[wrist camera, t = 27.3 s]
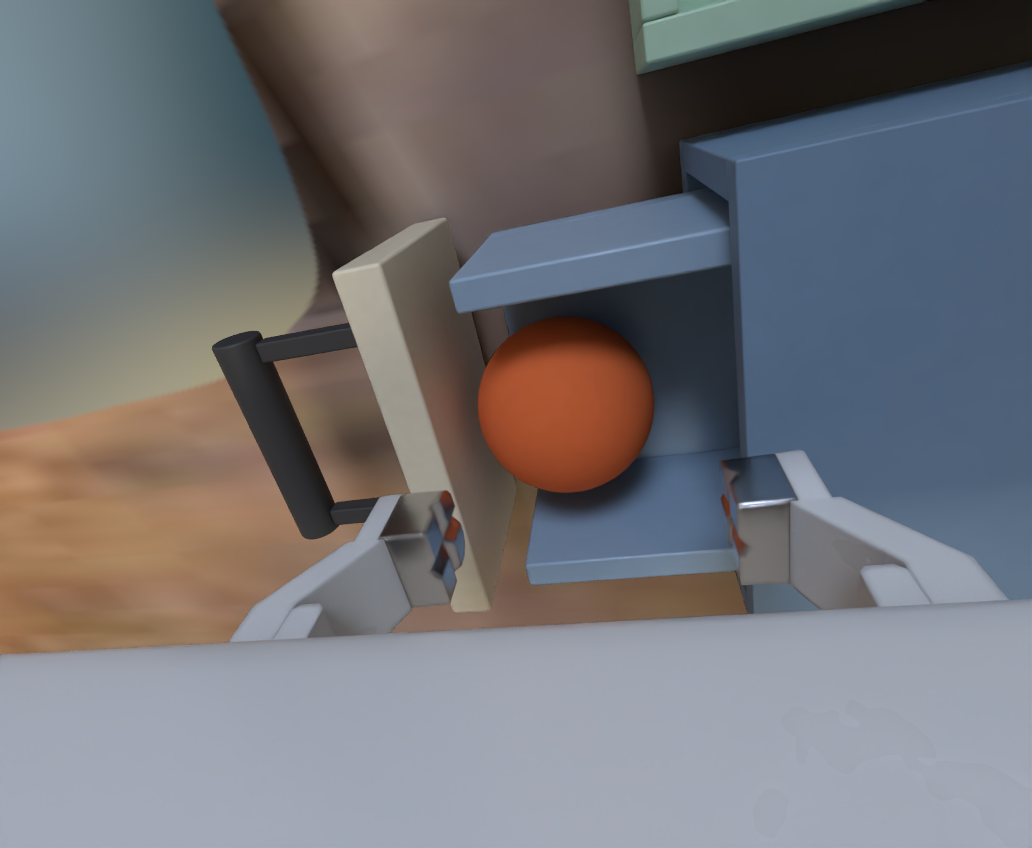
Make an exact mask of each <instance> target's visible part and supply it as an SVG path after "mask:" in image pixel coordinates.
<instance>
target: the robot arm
mask: <svg viewBox="0 0 1032 848" xmlns="http://www.w3.org/2000/svg"><path fill="white" fill-rule="evenodd" d="M719 479H720V482H721V485H722V489H723V492H724V494H723V495H722V497H721V506H722V515H723V523H724V528H725V533H726V537H727V540H728V544H729V545H730V546H732V547H733V561H734V564H735V567H736V570H737V574H738V577H739V580H740V583H741V585H759V584H784V583H790V585H791V586H792V587H793V588H794V589H795V590H797V591H798V592H799V593H800V594H802V595H803V596H804V597H805V598H806V599H808V600H809V601H810V602H811V603H812V604H814V605H815V606H816V607H817V608H819V609H820V610H812V611H793V612H775V613H757V614H739V615H720V616H702V617H684V618H666V619H647V620H629V621H611V622H592V623H574V624H556V625H537V626H519V627H500V628H482V629H464V630H445V631H427V632H408V633H390V632H391V631H392V630H393V629H394V628H395V627H396V626H397V625H398V624H399V623H400V622H401V621H402V620H403V619H404V617H405V616H406V615H407V614H408V613H409V612H410V611H411V610H412V608H413V607H424V606H434V605H445V604H450V603H451V599H452V596H453V593H454V590H455V587H456V583H457V578H456V575H455V571H456V570H457V569H459V568H460V567H461V566H462V564H463V560H464V556H465V538H464V532H463V529H462V526H461V523H460V522H459V521H458V520H457V519H455V518H454V517H453V516H452V514H453V511H454V508H455V504H454V501H453V498H452V496H451V493H449V492H448V491H447V490H440V491H429V492H418V493H406V494H395V495H387V496H383V497H380V498H379V499H378V501H377V503H376V504H375V506H374V508H373V510H372V511H371V513H370V515H369V516H368V518H367V520H366V522H365V523H364V525H363V527H362V528H361V530H360V532H359V534H358V535H357V537H356V539H355V541H354V542H347V543H346V544H344V545H343V546H341V547H340V548H338V549H337V550H335V551H334V552H332V553H331V554H330V555H328V556H327V557H325V558H324V559H322V560H321V561H319V562H318V563H316V564H315V565H313V566H312V567H310V568H309V569H307V570H306V571H304V572H303V573H301V574H300V575H299V576H297V577H296V578H294V579H293V580H291V581H290V582H288V583H287V584H285V585H284V586H282V587H281V588H279V589H278V590H276V591H275V592H273V593H272V594H271V595H269V596H268V597H266V598H265V599H263V600H262V601H260V602H259V603H257V604H256V605H254V606H253V607H252V609H251V610H250V612H249V613H248V614H247V616H246V617H245V619H244V620H243V622H242V623H241V624H240V626H239V627H238V629H237V630H236V631H235V633H234V634H233V636H232V637H231V639H230V640H229V641H228V642H225V643H206V644H188V645H170V646H151V647H133V648H115V649H97V650H78V651H60V652H42V653H17V654H0V848H1032V599H1016V600H1009V599H1008V598H1007V597H1006V596H1005V595H1004V593H1003V592H1002V591H1001V590H1000V589H999V587H998V586H997V585H996V584H995V583H994V581H993V580H992V579H991V578H990V577H989V575H988V574H987V573H986V572H985V571H984V569H983V568H982V567H981V566H980V565H979V563H978V562H977V561H976V560H975V559H974V557H972V556H970V555H968V554H965V553H963V552H961V551H959V550H957V549H955V548H952V547H950V546H948V545H946V544H944V543H941V542H939V541H937V540H935V539H933V538H930V537H928V536H926V535H924V534H922V533H920V532H917V531H915V530H913V529H911V528H909V527H906V526H904V525H902V524H900V523H898V522H895V521H893V520H891V519H889V518H887V517H885V516H882V515H880V514H878V513H876V512H874V511H871V510H869V509H867V508H865V507H863V506H860V505H858V504H856V503H854V502H852V501H849V500H847V499H845V498H843V497H832V496H831V494H830V492H829V491H828V489H827V487H826V486H825V484H824V483H823V481H822V479H821V478H820V476H819V474H818V473H817V471H816V470H815V468H814V466H813V465H812V463H811V461H810V460H809V458H808V456H807V455H806V453H805V452H804V451H803V450H793V451H786V452H779V453H773V454H766V455H759V456H751V457H744V458H736V459H729V460H721V461H719ZM389 633H390V634H389Z"/></svg>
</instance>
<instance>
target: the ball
mask: <svg viewBox="0 0 1032 848" xmlns="http://www.w3.org/2000/svg"><path fill="white" fill-rule="evenodd" d="M654 406H655V402H654V391H653V386H652V381H651V378H650V375H649V372H648V370H647V368H646V366H645V363H644V361H643V360H642V358H641V357H640V355H639V354H638V352H637V351H636V350H635V349H634V348H633V346H632V345H631V344H630V343H629V342H628V341H627V340H626V339H625V338H624V337H622V336H621V335H620V334H618V333H617V332H616V331H614V330H613V329H611V328H609V327H607V326H605V325H603V324H601V323H598V322H596V321H593V320H589V319H586V318H581V317H573V316H571V317H553V318H547V319H543V320H540V321H537V322H534V323H532V324H529V325H527V326H525V327H523V328H522V329H520V330H519V331H517V332H516V333H514V334H513V335H511V336H510V337H509V338H508V339H507V340H506V341H505V342H504V343H503V344H502V345H501V346H500V347H499V348H498V349H497V351H496V352H495V353H494V354H493V356H492V358H491V359H490V361H489V363H488V365H487V367H486V368H485V371H484V374H483V376H482V380H481V383H480V387H479V392H478V417H479V422H480V426H481V430H482V433H483V436H484V439H485V441H486V443H487V445H488V447H489V448H490V450H491V452H492V453H493V455H494V456H495V458H496V459H497V460H498V462H499V463H500V464H501V465H502V466H503V467H504V468H505V469H506V470H507V471H508V472H510V473H511V474H512V475H513V476H515V477H516V478H518V479H519V480H521V481H523V482H525V483H527V484H529V485H531V486H534V487H536V488H539V489H543V490H547V491H552V492H561V493H569V492H581V491H585V490H589V489H592V488H595V487H598V486H601V485H603V484H605V483H607V482H609V481H610V480H612V479H614V478H615V477H617V476H618V475H620V474H621V473H622V472H623V471H625V470H626V469H627V468H628V467H629V466H630V465H631V463H632V462H633V461H634V460H635V459H636V458H637V456H638V455H639V453H640V452H641V450H642V448H643V447H644V445H645V443H646V441H647V439H648V436H649V433H650V431H651V427H652V423H653V417H654Z"/></svg>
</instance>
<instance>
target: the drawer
mask: <svg viewBox="0 0 1032 848" xmlns="http://www.w3.org/2000/svg"><path fill="white" fill-rule="evenodd" d="M332 275H333V279H334V282H335V285H336V288H337V290H338V293H339V296H340V299H341V301H342V304H343V307H344V310H345V313H346V315H347V318H348V321H349V323H345V324H340V325H334V326H329V327H323V328H318V329H313V330H307V331H302V332H296V333H291V334H285V335H280V336H274V337H269V338H265V339H263V338H262V335H261V333H260V332H259V331H248V332H244V333H239V334H237V335H233V336H230V337H227V338H225V339H223V340H221V341H219V342H217V343H216V344H214V345H213V346H212V350H213V352H214V354H215V357H216V359H217V361H218V363H219V365H220V367H221V369H222V371H223V373H224V375H225V377H226V379H227V381H228V384H229V386H230V388H231V390H232V392H233V394H234V396H235V398H236V400H237V402H238V404H239V406H240V408H241V410H242V413H243V415H244V417H245V419H246V421H247V423H248V425H249V427H250V429H251V431H252V433H253V435H254V437H255V439H256V441H257V444H258V446H259V448H260V450H261V452H262V454H263V456H264V458H265V460H266V462H267V464H268V466H269V468H270V470H271V473H272V475H273V477H274V479H275V481H276V483H277V485H278V487H279V489H280V491H281V493H282V495H283V497H284V499H285V501H286V504H287V506H288V508H289V510H290V512H291V514H292V516H293V518H294V520H295V522H296V524H297V526H298V528H299V530H300V533H301V535H302V536H303V537H304V538H306V539H318V538H321V537H324V536H326V535H328V534H330V533H331V532H333V531H334V530H335V529H336V528H337V527H338V526H339V525H343V524H353V523H363V522H366V520H367V518H368V516H369V515H370V513H371V511H372V510H373V508H374V506H375V504H376V503H377V501H378V499H379V498H380V497H379V498H370V499H361V500H352V501H343V502H337V503H335V502H334V500H333V498H332V495H331V493H330V491H329V489H328V486H327V484H326V482H325V479H324V477H323V475H322V473H321V470H320V468H319V466H318V463H317V461H316V459H315V457H314V454H313V452H312V450H311V447H310V445H309V443H308V441H307V438H306V436H305V434H304V431H303V429H302V427H301V425H300V422H299V420H298V418H297V415H296V413H295V411H294V408H293V406H292V404H291V402H290V399H289V397H288V395H287V392H286V390H285V388H284V386H283V383H282V381H281V379H280V376H279V374H278V372H277V370H276V367H275V365H274V363H273V361H279V360H285V359H290V358H296V357H302V356H308V355H314V354H319V353H325V352H331V351H337V350H342V349H348V348H354V347H358V349H359V351H360V354H361V357H362V360H363V362H364V365H365V368H366V371H367V374H368V376H369V379H370V382H371V385H372V387H373V390H374V393H375V396H376V398H377V401H378V404H379V407H380V410H381V412H382V415H383V418H384V421H385V423H386V426H387V429H388V432H389V434H390V437H391V440H392V443H393V446H394V448H395V451H396V454H397V457H398V459H399V462H400V465H401V468H402V471H403V473H404V476H405V479H406V482H407V484H408V487H409V490H410V493H418V492H429V491H440V490H447V491H448V492H449V493H451V496H452V498H453V501H454V504H455V508H454V511H453V514H452V516H453V517H454V518H455V519H457V520H458V521H459V522H460V523H461V526H462V529H463V532H464V538H465V556H464V560H463V564H462V566H461V567H460V568H459V569H457V570H456V571H455V575H456V578H457V583H456V587H455V590H454V593H453V596H452V599H451V603H450V604H451V606H452V609H453V611H454V612H455V613H461V612H478V611H489V610H490V609H491V605H492V601H493V596H494V592H495V587H496V583H497V578H498V573H499V569H500V564H501V560H502V555H503V551H504V546H505V542H506V537H507V533H508V528H509V524H510V519H511V515H512V510H513V506H514V501H515V497H516V492H517V487H516V483H515V479H514V476H513V475H512V474H511V473H510V472H508V471H507V470H506V469H505V468H504V467H503V466H502V465H501V464H500V463H499V462H498V460H497V459H496V458H495V456H494V455H493V453H492V452H491V450H490V448H489V447H488V445H487V443H486V441H485V439H484V436H483V433H482V430H481V426H480V422H479V417H478V392H479V387H480V383H481V380H482V376H483V374H484V371H485V368H486V367H485V363H484V360H483V356H482V352H481V348H480V344H479V340H478V336H477V333H476V329H475V325H474V321H473V317H472V313H471V312H475V311H480V310H486V309H491V308H497V307H502V306H503V309H504V313H505V318H506V322H507V326H508V331H509V335H510V336H511V335H513V334H514V333H516V332H517V331H519V330H520V329H522V328H523V327H525V326H527V325H529V324H532V323H534V322H537V321H540V320H543V319H547V318H553V317H571V316H573V317H581V318H586V319H589V320H593V321H596V322H598V323H601V324H603V325H605V326H607V327H609V328H611V329H613V330H614V331H616V332H617V333H618V334H620V335H621V336H622V337H624V338H625V339H626V340H627V341H628V342H629V343H630V344H631V345H632V346H633V348H634V349H635V350H636V351H637V352H638V354H639V355H640V357H641V358H642V360H643V361H644V363H645V366H646V368H647V370H648V372H649V375H650V378H651V381H652V386H653V391H654V402H655V406H654V417H653V423H652V427H651V431H650V433H649V436H648V439H647V441H646V443H645V445H644V447H643V448H642V450H641V452H640V453H639V455H638V456H637V458H636V459H635V460H634V461H633V462H632V463H631V465H630V466H629V467H628V468H627V469H626V470H625V471H623V472H622V473H621V474H620V475H618V476H617V477H615V478H614V479H612V480H610V481H609V482H607V483H605V484H603V485H601V486H598V487H595V488H592V489H589V490H585V491H581V492H569V493H561V492H552V491H547V490H543V489H539V488H538V492H537V498H536V504H535V510H534V516H533V522H532V528H531V534H530V540H529V546H528V552H527V558H526V564H525V567H526V571H527V574H528V578H529V582H530V584H531V585H542V584H556V583H570V582H584V581H599V580H613V579H627V578H641V577H655V576H669V575H683V574H698V573H712V572H726V571H737V570H736V567H735V564H734V561H733V547H732V546H730V545H729V544H728V540H727V537H726V533H725V528H724V523H723V515H722V506H721V497H722V495H723V494H724V492H723V489H722V485H721V482H720V479H719V461H721V460H729V459H736V458H741V456H740V434H739V413H738V391H737V370H736V349H735V327H734V306H733V284H732V263H731V241H730V220H729V201H727V200H726V199H724V198H723V197H722V196H720V195H719V194H717V193H716V192H714V191H713V190H711V189H710V188H704V189H700V190H695V191H690V192H685V193H680V194H676V195H671V196H666V197H661V198H656V199H652V200H647V201H642V202H637V203H633V204H628V205H623V206H618V207H613V208H609V209H604V210H599V211H594V212H589V213H585V214H580V215H575V216H570V217H565V218H561V219H556V220H551V221H546V222H541V223H537V224H532V225H527V226H522V227H517V228H513V229H508V230H503V231H498V232H493V233H491V235H490V236H489V237H488V238H487V240H486V241H485V242H484V243H483V244H482V245H481V246H480V247H479V249H478V250H477V251H476V252H475V253H474V254H473V255H472V256H471V258H470V259H469V260H468V261H467V262H466V263H465V264H464V265H463V266H462V268H461V269H460V267H459V263H458V259H457V255H456V252H455V248H454V244H453V240H452V236H451V232H450V228H449V224H448V221H447V219H446V218H439V219H435V220H430V221H426V222H421V223H416V224H413V225H411V226H410V227H408V228H406V229H405V230H403V231H401V232H400V233H398V234H396V235H395V236H393V237H391V238H390V239H388V240H386V241H384V242H383V243H381V244H379V245H378V246H376V247H374V248H373V249H371V250H369V251H368V252H366V253H364V254H363V255H361V256H359V257H358V258H356V259H354V260H353V261H351V262H349V263H348V264H346V265H344V266H343V267H341V268H339V269H338V270H336V271H335V272H333V274H332Z"/></svg>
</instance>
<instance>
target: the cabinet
mask: <svg viewBox="0 0 1032 848" xmlns="http://www.w3.org/2000/svg"><path fill="white" fill-rule="evenodd" d="M679 149H680V162H681V174H682V187H683V193H685V192H690V191H695V190H700V189H704V188H710V189H711V190H713V191H714V192H716V193H717V194H719V195H720V196H722V197H723V198H724V199H726V200H727V201H729V220H730V241H731V263H732V284H733V306H734V327H735V349H736V370H737V391H738V413H739V434H740V456H741V458H744V457H751V456H759V455H766V454H773V453H779V452H786V451H793V450H803V451H804V452H805V453H806V455H807V456H808V458H809V460H810V461H811V463H812V465H813V466H814V468H815V470H816V471H817V473H818V474H819V476H820V478H821V479H822V481H823V483H824V484H825V486H826V487H827V489H828V491H829V492H830V494H831V496H832V497H843V498H845V499H847V500H849V501H852V502H854V503H856V504H858V505H860V506H863V507H865V508H867V509H869V510H871V511H874V512H876V513H878V514H880V515H882V516H885V517H887V518H889V519H891V520H893V521H895V522H898V523H900V524H902V525H904V526H906V527H909V528H911V529H913V530H915V531H917V532H920V533H922V534H924V535H926V536H928V537H930V538H933V539H935V540H937V541H939V542H941V543H944V544H946V545H948V546H950V547H952V548H955V549H957V550H959V551H961V552H963V553H965V554H968V555H970V556H972V557H974V559H975V560H976V561H977V562H978V563H979V565H980V566H981V567H982V568H983V569H984V571H985V572H986V573H987V574H988V575H989V577H990V578H991V579H992V580H993V581H994V583H995V584H996V585H997V586H998V587H999V589H1000V590H1001V591H1002V592H1003V593H1004V595H1005V596H1006V597H1007V598H1008V599H1009V600H1016V599H1032V60H1030V61H1025V62H1021V63H1016V64H1012V65H1008V66H1003V67H999V68H995V69H990V70H986V71H981V72H977V73H973V74H968V75H964V76H959V77H955V78H951V79H946V80H942V81H937V82H933V83H929V84H924V85H920V86H916V87H911V88H907V89H902V90H898V91H894V92H889V93H885V94H880V95H876V96H872V97H867V98H863V99H859V100H854V101H850V102H845V103H841V104H837V105H832V106H828V107H823V108H819V109H815V110H810V111H806V112H801V113H797V114H793V115H788V116H784V117H780V118H775V119H771V120H766V121H762V122H758V123H753V124H749V125H744V126H740V127H736V128H731V129H727V130H722V131H718V132H714V133H709V134H705V135H701V136H696V137H692V138H687V139H683V140H681V141H680V142H679ZM735 572H736V576H737V579H738V582H739V586H740V589H741V593H742V596H743V599H744V603H745V606H746V610H747V611H748V614H757V613H775V612H793V611H812V610H820V609H819V608H817V607H816V606H815V605H814V604H812V603H811V602H810V601H809V600H808V599H806V598H805V597H804V596H803V595H802V594H800V593H799V592H798V591H797V590H795V589H794V588H793V587H792V586H791V585H790V583H784V584H759V585H741V583H740V580H739V577H738V574H737V571H735Z"/></svg>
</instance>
